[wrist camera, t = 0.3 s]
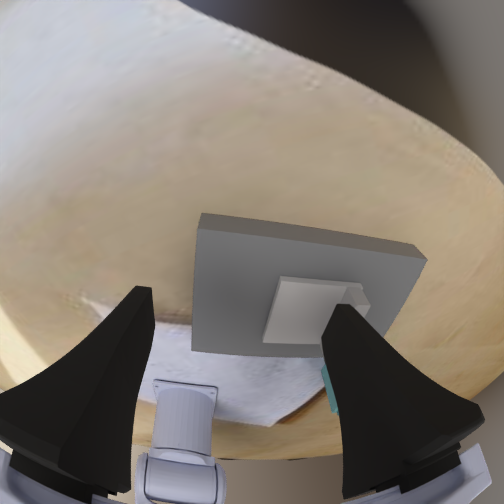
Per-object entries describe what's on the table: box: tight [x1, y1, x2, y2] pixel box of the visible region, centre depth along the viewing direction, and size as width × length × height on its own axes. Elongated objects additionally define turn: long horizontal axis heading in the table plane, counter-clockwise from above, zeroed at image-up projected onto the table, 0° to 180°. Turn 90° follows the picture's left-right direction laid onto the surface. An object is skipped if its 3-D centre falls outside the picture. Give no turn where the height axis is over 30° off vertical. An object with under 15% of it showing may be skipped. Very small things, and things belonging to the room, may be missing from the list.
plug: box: [321, 364, 339, 415], centre depth 26 cm, size 4×4×7 cm
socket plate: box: [191, 213, 428, 358], centre depth 22 cm, size 12×18×2 cm, turn 80°
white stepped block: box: [262, 276, 371, 361], centre depth 20 cm, size 6×6×3 cm
